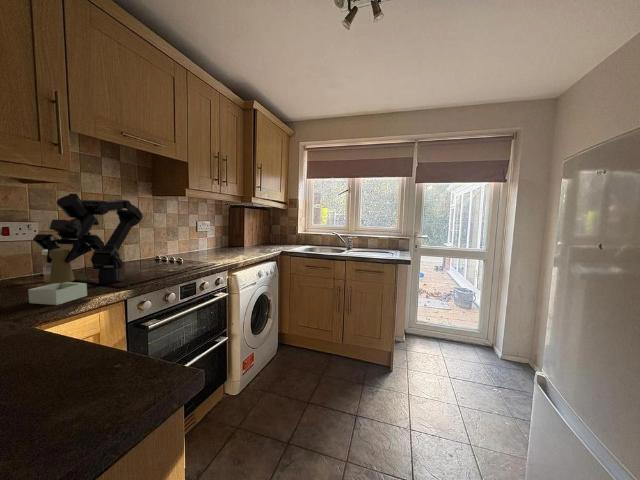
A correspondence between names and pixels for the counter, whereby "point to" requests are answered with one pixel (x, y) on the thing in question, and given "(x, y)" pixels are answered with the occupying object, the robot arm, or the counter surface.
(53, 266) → the cork
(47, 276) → the sprinkles bottle
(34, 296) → the end cap socket
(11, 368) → the counter surface
